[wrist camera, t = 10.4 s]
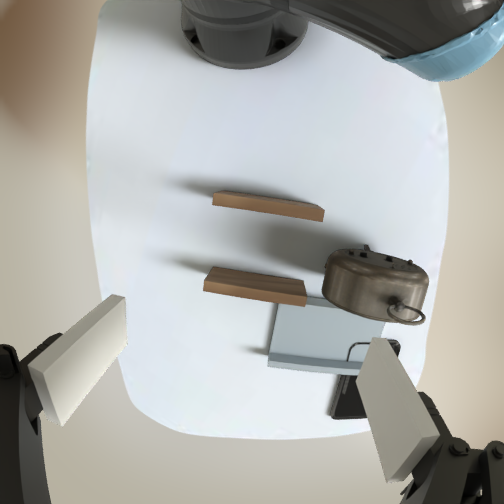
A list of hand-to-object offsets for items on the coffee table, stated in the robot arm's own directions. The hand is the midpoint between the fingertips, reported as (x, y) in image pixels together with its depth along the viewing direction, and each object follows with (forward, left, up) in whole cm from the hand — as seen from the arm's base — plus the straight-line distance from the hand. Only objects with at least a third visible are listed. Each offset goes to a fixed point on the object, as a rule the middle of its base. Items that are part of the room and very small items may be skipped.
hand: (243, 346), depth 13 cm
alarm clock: (+1, +12, -23) cm, 26 cm away
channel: (0, 0, -22) cm, 22 cm away
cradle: (+11, +10, -22) cm, 27 cm away
